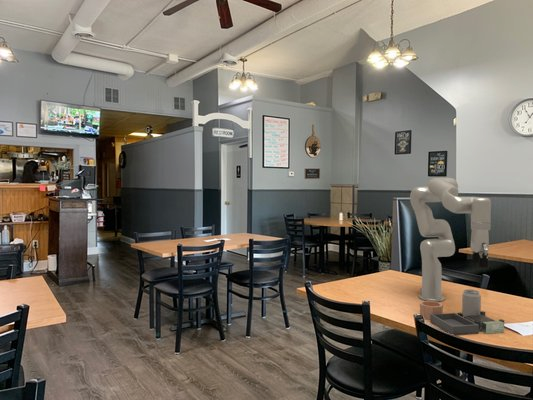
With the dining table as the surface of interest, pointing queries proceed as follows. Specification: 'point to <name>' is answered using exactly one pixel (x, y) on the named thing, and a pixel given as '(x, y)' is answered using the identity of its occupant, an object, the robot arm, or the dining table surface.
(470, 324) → the dark grey tray
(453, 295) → the dining table surface
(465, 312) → the gray cylinder
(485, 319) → the cradle plate
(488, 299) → the dining table surface
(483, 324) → the cradle base
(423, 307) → the cup
